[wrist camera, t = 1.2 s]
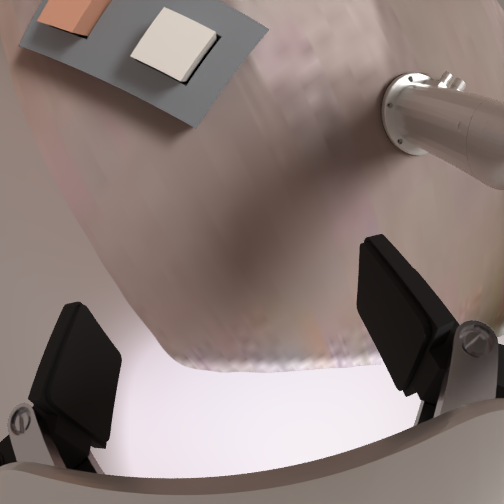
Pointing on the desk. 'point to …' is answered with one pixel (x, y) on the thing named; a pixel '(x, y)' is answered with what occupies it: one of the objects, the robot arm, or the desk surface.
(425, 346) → the robot arm
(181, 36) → the off-white key
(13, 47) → the desk surface
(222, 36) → the key panel
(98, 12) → the terracotta key
